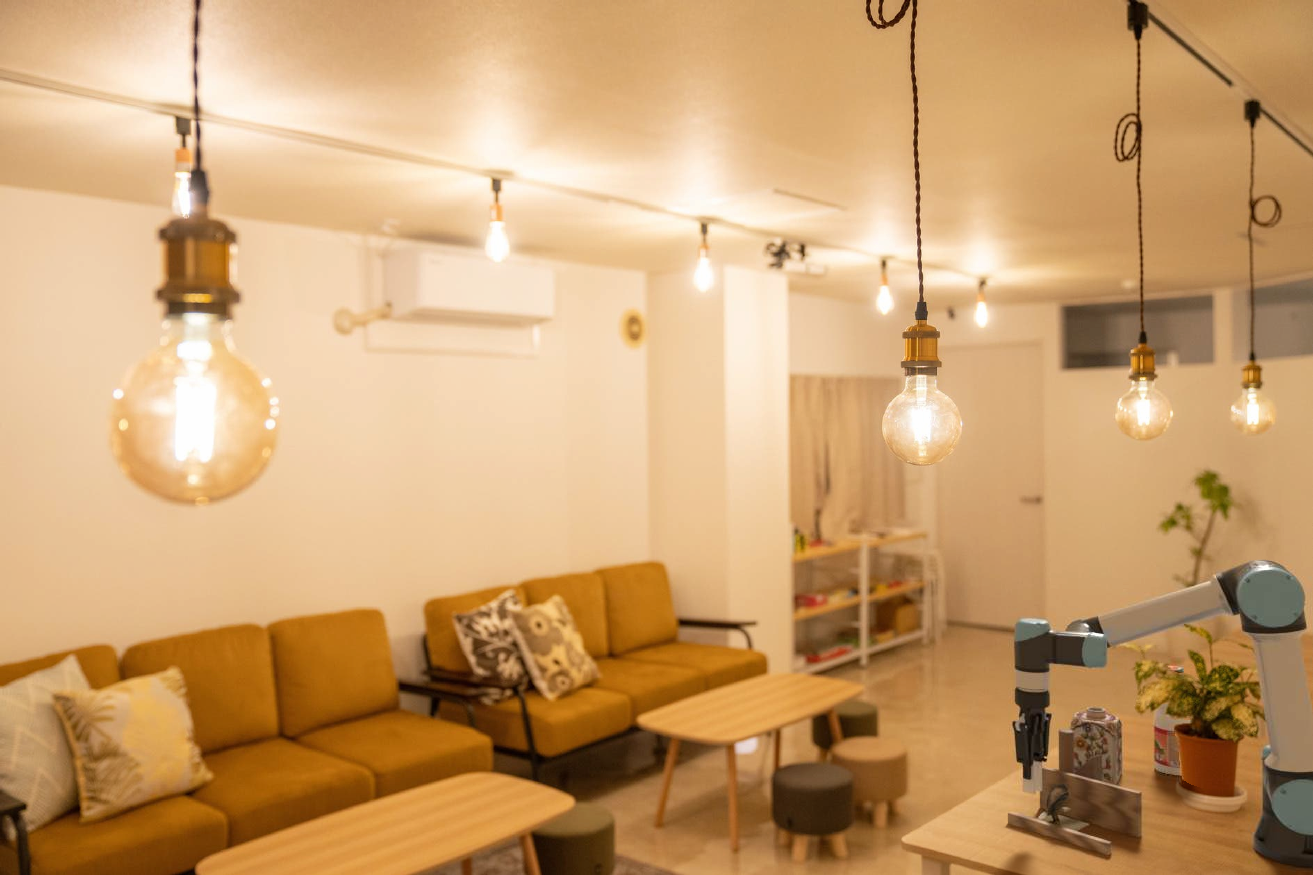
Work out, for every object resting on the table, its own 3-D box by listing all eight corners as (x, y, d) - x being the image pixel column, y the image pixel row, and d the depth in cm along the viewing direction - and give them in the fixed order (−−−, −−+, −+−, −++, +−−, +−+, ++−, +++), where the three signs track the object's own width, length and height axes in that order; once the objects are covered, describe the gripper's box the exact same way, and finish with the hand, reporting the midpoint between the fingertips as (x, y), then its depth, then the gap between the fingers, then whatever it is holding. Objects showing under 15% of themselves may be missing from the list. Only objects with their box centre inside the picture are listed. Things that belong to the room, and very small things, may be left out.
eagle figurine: (1079, 830, 236) (1078, 791, 236) (1049, 832, 235) (1049, 793, 235) (1062, 817, 244) (1061, 779, 243) (1033, 819, 243) (1033, 781, 243)
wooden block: (1093, 815, 245) (1093, 740, 245) (1054, 802, 254) (1054, 729, 254) (1103, 812, 247) (1102, 738, 247) (1064, 799, 256) (1064, 727, 256)
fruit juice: (1186, 779, 270) (1186, 673, 269) (1148, 771, 276) (1148, 667, 276) (1198, 770, 276) (1198, 667, 276) (1161, 762, 283) (1161, 661, 283)
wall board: (1141, 835, 233) (1141, 791, 233) (1108, 855, 223) (1108, 809, 223) (1043, 806, 251) (1042, 765, 251) (1007, 823, 241) (1007, 780, 241)
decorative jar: (1116, 786, 265) (1116, 717, 265) (1068, 778, 271) (1068, 710, 271) (1123, 773, 275) (1122, 706, 275) (1076, 765, 281) (1076, 700, 281)
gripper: (1034, 679, 241) (1034, 779, 241) (998, 690, 231) (999, 794, 231) (1064, 685, 235) (1065, 787, 235) (1029, 696, 225) (1030, 803, 225)
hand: (1032, 790), depth 233 cm, fingers open, 2 cm apart
